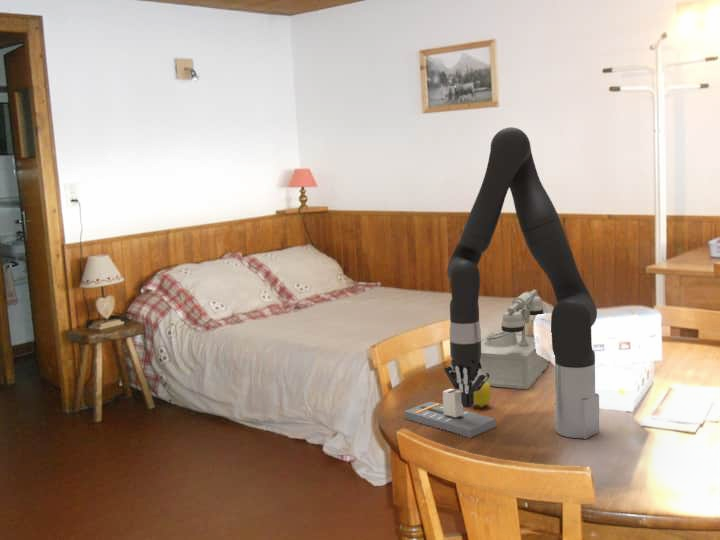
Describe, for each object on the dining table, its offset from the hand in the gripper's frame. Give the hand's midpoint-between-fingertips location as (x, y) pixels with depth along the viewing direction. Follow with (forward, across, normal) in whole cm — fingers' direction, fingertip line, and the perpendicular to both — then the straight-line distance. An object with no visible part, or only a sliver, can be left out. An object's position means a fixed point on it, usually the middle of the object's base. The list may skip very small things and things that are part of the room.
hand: (467, 406), depth 203 cm
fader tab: (+3, +5, 0) cm, 6 cm away
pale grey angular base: (+6, +18, -44) cm, 48 cm away
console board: (+6, +6, 0) cm, 9 cm away
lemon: (+6, +7, -14) cm, 17 cm away
